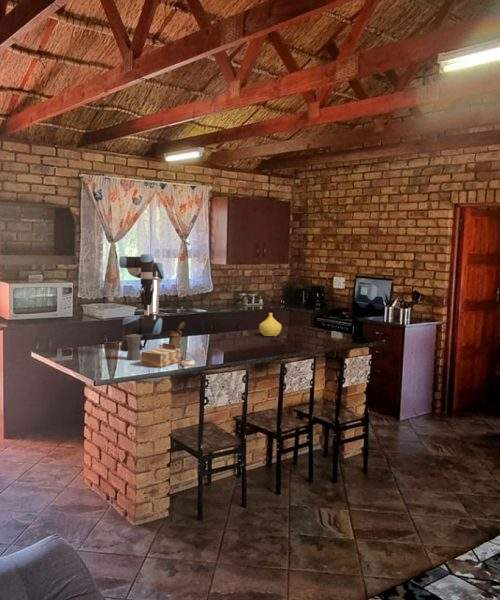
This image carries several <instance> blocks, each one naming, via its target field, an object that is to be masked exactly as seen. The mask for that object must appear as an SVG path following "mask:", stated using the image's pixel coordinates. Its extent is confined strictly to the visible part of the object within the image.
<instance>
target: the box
mask: <svg viewBox="0 0 500 600" xmlns="http://www.w3.org/2000/svg"><path fill="white" fill-rule="evenodd" d="M140 355H141V359H140V366H142V365H146V366H145V367H150V366H153V367H152V368H157V367H160V368H159V369H163V368H166V367H169V365H170V366H172V365H175V364H179V363H181V350H180V351H177V352H173V353H169V354H166V355H162V356H161V354H155V353H147V352H144V351H141V353H140ZM165 366H166V367H165ZM162 367H163V368H162Z"/></svg>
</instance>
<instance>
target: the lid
mask: <svg viewBox="0 0 500 600" xmlns="http://www.w3.org/2000/svg"><path fill="white" fill-rule="evenodd" d="M177 351H180V352H181V350H180V348H176V345H175V344H169V343H166V342H165V343H162V346H161V347H157V348H152V349H149V350H148V349H147V350H144V351H143V352H147V353H155V354H161V356H162V355H166V354H169V353H173V352H177Z"/></svg>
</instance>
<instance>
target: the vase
mask: <svg viewBox="0 0 500 600" xmlns="http://www.w3.org/2000/svg"><path fill="white" fill-rule="evenodd" d="M258 327H259V331H260V333H261V334H262V336H264V337H266V336H275V337H277V336H278V335H280V333H281V331H282V324H281V323H280V322H278V321H277V320H276V319H275V318H274V317H273V312H268V317H267V318H266V319H265V320H264V321H262V322H261V323H260V324H259V325H258Z"/></svg>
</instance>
